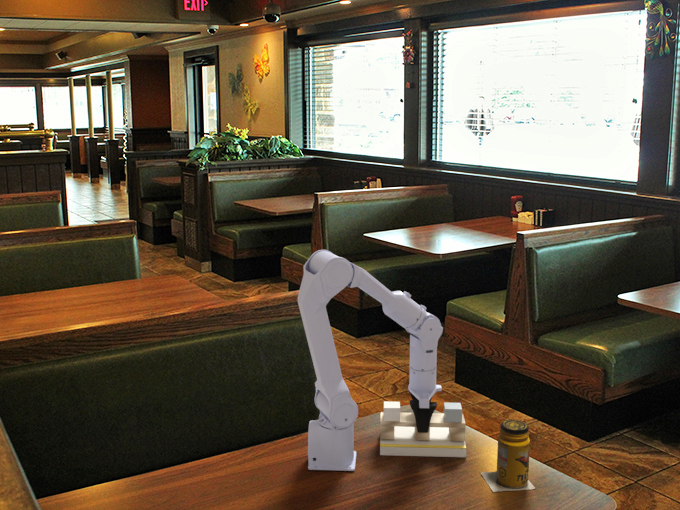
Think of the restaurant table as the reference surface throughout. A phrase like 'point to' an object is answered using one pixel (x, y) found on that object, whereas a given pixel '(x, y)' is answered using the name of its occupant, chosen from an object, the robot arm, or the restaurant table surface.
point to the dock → (422, 444)
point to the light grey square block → (453, 412)
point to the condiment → (511, 459)
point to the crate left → (391, 411)
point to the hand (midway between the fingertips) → (421, 426)
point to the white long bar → (409, 421)
